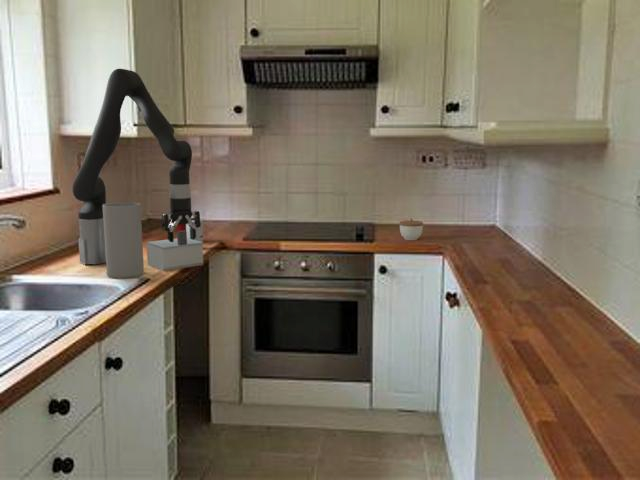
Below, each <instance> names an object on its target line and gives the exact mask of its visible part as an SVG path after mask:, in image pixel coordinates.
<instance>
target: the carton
mask: <svg viewBox="0 0 640 480" xmlns="http://www.w3.org/2000/svg"><path fill="white" fill-rule="evenodd" d="M145 246H146V259H147V260H146V262H147V263H146V265H148V266H149V267H152V268H155V269H157V270H160V271H163V272H165V271H167V272H168V271H173V270H179V269H180V270H181V269H186V268H194V267H198V266H204V243H203V244H199V245H192V246H184V247H176V248H169V249H161V248H158V247H155V246H152V245H149V244H146V245H145Z"/></svg>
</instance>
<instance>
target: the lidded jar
mask: <svg viewBox="0 0 640 480" xmlns="http://www.w3.org/2000/svg"><path fill="white" fill-rule="evenodd" d="M398 224H399V232H400V234H401V236H402V238H403V239H404V240H406V241H416V240H419V239H418V238H420V237H421V236H422V233H423V227H424V222H423V221H422V220H421V221H420V220H413V218H410V220H402V221H399V223H398Z"/></svg>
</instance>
